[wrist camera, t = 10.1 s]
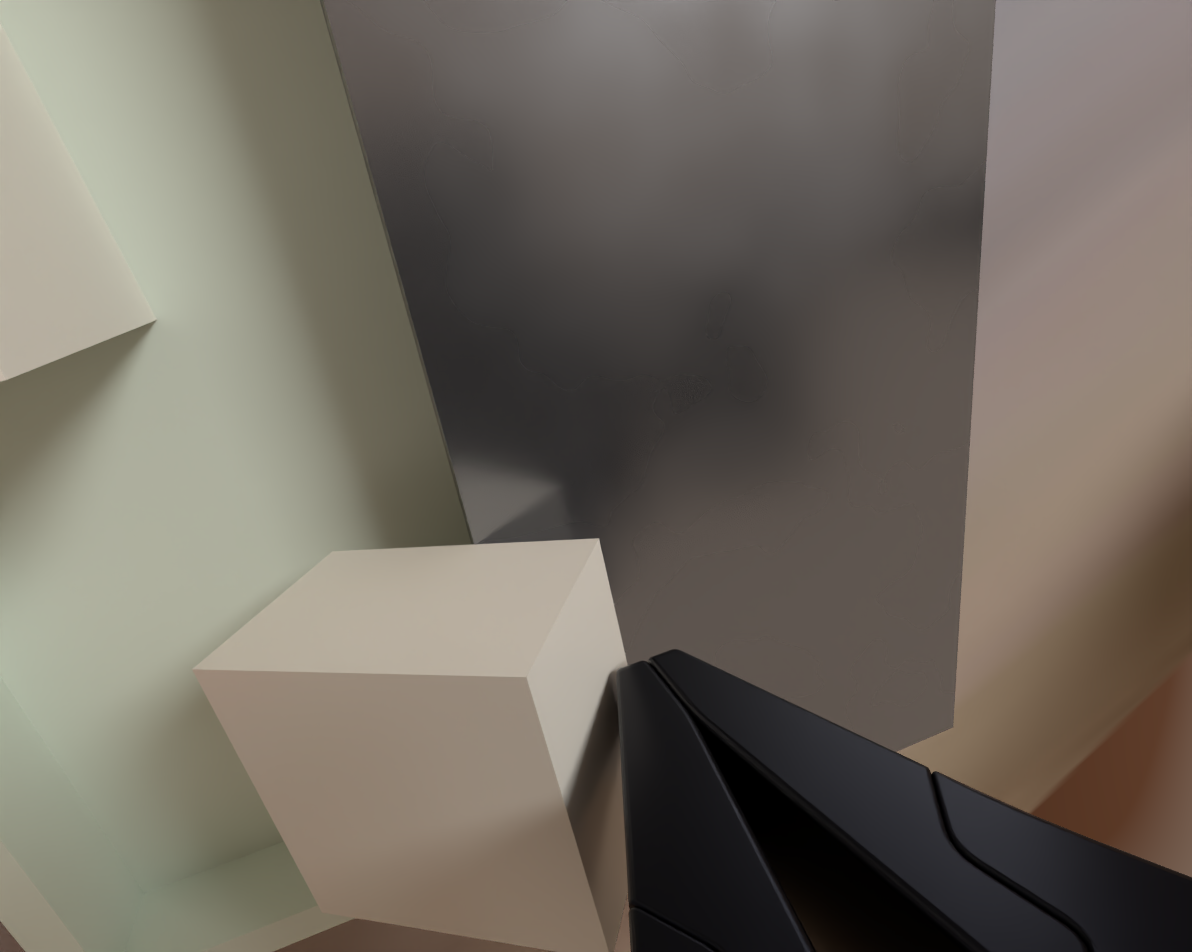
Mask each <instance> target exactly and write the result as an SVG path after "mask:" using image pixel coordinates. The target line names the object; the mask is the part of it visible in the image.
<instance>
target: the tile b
mask: <svg viewBox="0 0 1192 952" xmlns="http://www.w3.org/2000/svg"><path fill="white" fill-rule="evenodd" d="M625 666H627V660H626V656H625V651H624V647H623V642H622V638H621V634H620V629H619V625H618V620H617V616H616V612H615V607H614V603H613V598H612V594H611V590H610V585H609V581H608V576H607V572H606V568H605V563H604V559H603V554H602V550H601V546H600V541H599V538H595V539H575V540H554V541H534V542H513V543H493V544H476V545H474V544H473V545H452V546H432V547H411V548H391V549H370V550H350V551H332V552H331V553H330V554H329V555H327V556H326V557H325V558H324V559H323V560H322V561H320V562H319V563H318V564H317V565H316V566H314V567H313V568H312V569H311V570H310V571H308V572H307V573H306V574H305V575H304V576H302V577H301V578H300V579H299V580H298V581H297V582H295V583H294V584H293V585H292V586H291V587H289V588H288V589H287V590H286V591H285V592H283V593H282V594H281V595H280V596H279V597H277V598H276V599H275V600H274V601H273V602H271V603H270V604H269V605H268V606H267V607H266V608H264V609H263V610H262V611H261V612H260V613H258V614H257V615H256V616H255V617H254V618H252V619H251V620H250V621H249V622H248V623H246V624H245V625H244V626H243V627H242V628H241V629H239V630H238V631H237V632H236V633H235V634H233V635H232V636H231V637H230V638H229V639H227V640H226V641H225V642H224V643H223V644H221V645H220V646H219V647H218V648H217V649H216V650H214V651H213V652H212V653H211V654H210V655H208V656H207V657H206V658H205V659H204V660H202V661H201V662H200V663H199V664H198V665H196V666H195V667H194V668H193V669H192V670H193V672H194V674H195V676H196V678H197V680H198V682H199V684H200V685H201V687H202V689H203V691H204V693H205V695H206V697H207V699H208V700H209V702H210V704H211V706H212V708H213V710H214V712H215V714H216V715H217V717H218V719H219V721H220V723H221V725H222V727H223V728H224V730H225V732H226V734H227V736H228V738H229V740H230V742H231V743H232V745H233V747H234V749H235V751H236V753H237V755H238V757H239V758H240V760H241V762H242V764H243V766H244V768H245V770H246V771H247V773H248V775H249V777H250V779H251V781H252V783H253V785H254V786H255V788H256V790H257V792H258V794H259V796H260V798H261V800H262V801H263V803H264V805H265V807H266V809H267V811H268V813H269V814H270V816H271V818H272V820H273V822H274V824H275V826H276V828H277V829H278V831H279V833H280V835H281V837H282V839H283V841H284V843H285V844H286V846H287V848H288V850H289V852H290V854H291V856H292V857H293V859H294V861H295V863H296V865H297V867H298V869H299V871H300V872H301V874H302V876H303V878H304V880H305V882H306V884H307V886H308V887H309V889H310V891H311V893H312V895H313V897H314V899H315V900H316V902H317V904H318V906H319V908H320V910H321V912H322V913H328V914H334V915H340V916H346V917H352V918H358V919H364V920H370V921H376V922H382V923H387V924H393V925H399V926H405V927H411V928H417V929H423V930H429V931H435V932H441V933H447V934H453V935H459V936H465V937H471V938H477V939H483V940H489V941H495V942H501V943H507V944H513V945H519V946H525V947H530V948H536V949H542V950H548V951H554V952H614V949H615V945H616V941H617V936H618V932H619V927H620V923H621V919H622V914H623V910H624V906H625V901H626V897H627V893H628V883H627V865H626V847H625V829H624V811H623V793H622V775H621V756H620V738H619V720H618V702H617V684H616V672H617V670H618V669H619V668H622V667H625Z"/></svg>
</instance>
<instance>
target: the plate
mask: <svg viewBox="0 0 1192 952" xmlns="http://www.w3.org/2000/svg"><path fill="white" fill-rule="evenodd" d="M322 2H323V3H322ZM995 3H996V0H320V4H321V7H322V11H323V14H324V18H325V22H326V25H327V29H328V32H329V36H330V39H331V43H332V47H333V50H334V54H335V57H336V61H337V64H338V68H339V72H340V75H341V79H342V82H343V86H344V90H345V93H346V97H347V100H348V104H349V107H350V111H351V115H352V118H353V122H354V125H355V129H356V132H357V136H358V140H359V143H360V147H361V150H362V154H363V158H364V161H365V165H366V168H367V172H368V175H369V179H370V183H371V186H372V190H373V193H374V197H375V201H376V204H377V208H378V211H379V215H380V218H381V222H382V226H383V229H384V233H385V236H386V240H387V243H388V247H389V251H390V254H391V258H392V261H393V265H394V269H395V272H396V276H397V279H398V283H399V286H400V290H401V294H402V297H403V301H404V304H405V308H406V312H407V315H408V319H409V322H410V326H411V329H412V333H413V337H414V340H415V344H416V347H417V351H418V354H419V358H420V362H421V365H422V369H423V372H424V376H425V380H426V383H427V387H428V390H429V394H430V397H431V401H432V405H433V408H434V412H435V415H436V419H437V422H438V426H439V430H440V433H441V437H442V440H443V444H444V448H445V451H446V455H447V458H448V462H449V465H450V469H451V473H452V476H453V480H454V483H455V487H456V491H457V494H458V498H459V501H460V505H461V508H462V512H463V516H464V519H465V523H466V526H467V530H468V533H469V537H470V541H471V544H472V545H473V544H474V545H476V544H493V543H513V542H534V541H554V540H575V539H595V538H599V541H600V546H601V550H602V554H603V559H604V563H605V568H606V572H607V576H608V581H609V585H610V590H611V594H612V598H613V603H614V607H615V612H616V616H617V620H618V625H619V629H620V634H621V638H622V642H623V647H624V651H625V656H626V660H627V665H630V664H633V663H636V662H638V661H642V660H643V661H648V660H649V658H650V657H652V656H655V655H658V654H661V653H663V652H666V651H669V650H672V649H678V650H681V651H683V652H685V653H688V654H690V655H692V656H694V657H696V658H698V659H700V660H702V661H704V662H707V663H709V664H711V665H713V666H715V667H717V668H719V669H721V670H723V671H726V672H728V673H730V674H732V675H734V676H736V677H738V678H740V679H742V680H745V681H747V682H749V683H751V684H753V685H755V686H757V687H759V688H761V689H764V690H766V691H768V692H770V693H772V694H774V695H776V696H778V697H780V698H783V699H785V700H787V701H789V702H791V703H793V704H795V705H797V706H799V707H802V708H804V709H806V710H808V711H810V712H812V713H814V714H816V715H818V716H821V717H823V718H825V719H827V720H829V721H831V722H833V723H835V724H837V725H839V726H842V727H844V728H846V729H848V730H850V731H852V732H854V733H856V734H858V735H861V736H863V737H865V738H867V739H869V740H871V741H873V742H875V743H877V744H880V745H882V746H884V747H886V748H888V749H890V750H892V751H894V752H897V751H899V750H901V749H904V748H906V747H908V746H911V745H913V744H915V743H918V742H920V741H922V740H925V739H927V738H929V737H932V736H934V735H936V734H939V733H941V732H943V731H946V730H948V729H950V728H952V727H953V719H954V702H955V685H956V668H957V651H958V634H959V617H960V600H961V583H962V566H963V549H964V532H965V515H966V498H967V481H968V464H969V447H970V430H971V413H972V395H973V378H974V361H975V344H976V327H977V310H978V293H979V276H980V259H981V242H982V225H983V208H984V191H985V174H986V157H987V140H988V123H989V106H990V89H991V72H992V55H993V38H994V21H995ZM323 6H324V8H323ZM324 9H325V10H324ZM325 13H326V15H325ZM326 17H327V18H326ZM327 20H328V21H327ZM328 24H329V25H328ZM329 27H330V29H329ZM330 31H331V32H330ZM331 35H332V36H331ZM332 38H333V40H332ZM333 42H334V43H333ZM334 45H335V47H334ZM335 49H336V50H335ZM336 53H337V54H336ZM337 56H338V58H337ZM338 60H339V61H338ZM339 63H340V65H339ZM340 68H341V69H340ZM341 71H342V73H341ZM343 78H344V79H343ZM344 81H345V83H344ZM345 85H346V87H345ZM346 89H347V90H346ZM347 92H348V94H347ZM348 96H349V97H348ZM349 99H350V101H349ZM350 103H351V105H350ZM351 107H352V108H351ZM352 110H353V111H352ZM353 114H354V116H353ZM354 117H355V119H354ZM356 125H357V126H356ZM357 129H358V130H357ZM358 132H359V133H358ZM359 136H360V137H359ZM360 139H361V141H360ZM362 147H363V148H362ZM363 150H364V151H363ZM364 153H365V154H364ZM365 158H366V159H365ZM366 160H367V161H366ZM370 176H371V177H370ZM373 187H374V188H373ZM379 209H380V210H379ZM381 216H382V217H381ZM389 245H390V246H389Z"/></svg>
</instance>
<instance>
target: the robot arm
mask: <svg viewBox="0 0 1192 952" xmlns="http://www.w3.org/2000/svg"><path fill="white" fill-rule="evenodd" d="M616 684H617V702H618V720H619V738H620V756H621V775H622V793H623V811H624V829H625V847H626V865H627V883H628V902H629V908H630V911H629V928H630V946H631V952H1192V877H1189V876H1187V875H1184V874H1182V873H1179V872H1176V871H1174V870H1171V869H1169V868H1165V867H1163V866H1161V865H1158V864H1155V863H1153V862H1150V861H1148V860H1145V859H1142V858H1140V857H1137V856H1135V855H1132V854H1130V853H1127V852H1124V851H1122V850H1119V849H1117V848H1114V847H1111V846H1109V845H1106V844H1103V843H1101V842H1098V841H1096V840H1093V839H1091V838H1088V837H1086V836H1083V835H1081V834H1078V833H1076V832H1073V831H1071V830H1068V829H1066V828H1064V827H1061V826H1059V825H1056V824H1054V823H1051V822H1049V821H1046V820H1044V819H1041V818H1039V817H1036V816H1034V815H1031V814H1029V813H1027V812H1024V811H1022V810H1020V809H1018V808H1015V807H1013V806H1011V805H1009V804H1007V803H1004V802H1002V801H1000V800H998V799H995V798H993V797H991V796H989V795H986V794H984V793H982V792H980V791H978V790H975V789H973V788H971V787H969V786H967V785H965V784H962V783H960V782H958V781H956V780H954V779H952V778H950V777H948V776H946V775H943V774H941V773H939V772H936V771H935V772H933V773H932V774H931V772H930V770H929V768H928V767H926V766H924V765H922V764H920V763H918V762H915V761H913V760H911V759H909V758H907V757H905V756H903V755H901V754H899V753H896V752H894V751H892V750H890V749H888V748H886V747H884V746H882V745H880V744H877V743H875V742H873V741H871V740H869V739H867V738H865V737H863V736H861V735H858V734H856V733H854V732H852V731H850V730H848V729H846V728H844V727H842V726H839V725H837V724H835V723H833V722H831V721H829V720H827V719H825V718H823V717H821V716H818V715H816V714H814V713H812V712H810V711H808V710H806V709H804V708H802V707H799V706H797V705H795V704H793V703H791V702H789V701H787V700H785V699H783V698H780V697H778V696H776V695H774V694H772V693H770V692H768V691H766V690H764V689H761V688H759V687H757V686H755V685H753V684H751V683H749V682H747V681H745V680H742V679H740V678H738V677H736V676H734V675H732V674H730V673H728V672H726V671H723V670H721V669H719V668H717V667H715V666H713V665H711V664H709V663H707V662H704V661H702V660H700V659H698V658H696V657H694V656H692V655H690V654H688V653H685V652H683V651H681V650H678V649H672V650H669V651H666V652H663V653H661V654H658V655H655V656H652V657H650V658H649V660H648V661H643V660H642V661H638V662H636V663H633V664H630V665H627V666H625V667H622V668H619V669H618V670H617V672H616Z"/></svg>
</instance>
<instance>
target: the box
mask: <svg viewBox="0 0 1192 952" xmlns="http://www.w3.org/2000/svg"><path fill="white" fill-rule="evenodd" d="M322 3H323V2H322ZM323 8H324V6H323ZM324 10H325V9H324ZM325 15H326V13H325ZM326 18H327V17H326ZM327 21H328V20H327ZM0 23H1V25H2V27H3V29H4V30H5V32H6V34H7V36H8V38H9V40H10V42H11V44H12V46H13V48H14V49H15V51H16V53H17V55H18V57H19V59H20V61H21V63H22V65H23V67H24V68H25V70H26V72H27V74H28V76H29V78H30V80H31V82H32V84H33V86H34V87H35V89H36V91H37V93H38V95H39V97H40V99H41V101H42V103H43V105H44V106H45V108H46V110H47V112H48V114H49V116H50V118H51V120H52V122H53V124H54V125H55V127H56V129H57V131H58V133H59V135H60V137H61V139H62V141H63V143H64V144H65V146H66V148H67V150H68V152H69V154H70V156H71V158H72V160H73V162H74V163H75V165H76V167H77V169H78V171H79V173H80V175H81V177H82V179H83V181H84V182H85V184H86V186H87V188H88V190H89V192H90V194H91V196H92V198H93V200H94V201H95V203H96V205H97V207H98V209H99V211H100V213H101V215H102V217H103V219H104V220H105V222H106V224H107V226H108V228H109V230H110V232H111V234H112V236H113V238H114V239H115V241H116V243H117V245H118V247H119V249H120V251H121V253H122V255H123V256H124V258H125V260H126V262H127V264H128V266H129V268H130V270H131V272H132V274H133V275H134V277H135V279H136V281H137V283H138V285H139V287H140V289H141V291H142V293H143V294H144V296H145V298H146V300H147V302H148V304H149V306H150V308H151V310H152V312H153V313H154V315H155V317H156V319H157V320H155V321H153V322H150V323H148V324H145V325H143V326H140V327H138V328H135V329H133V330H130V331H128V332H125V333H123V334H120V335H118V336H115V337H113V338H110V339H108V340H105V341H103V342H100V343H98V344H95V345H93V346H90V347H88V348H85V349H83V350H80V351H78V352H75V353H73V354H70V355H68V356H65V357H63V358H60V359H58V360H55V361H53V362H50V363H48V364H45V365H43V366H40V367H38V368H35V369H33V370H30V371H28V372H25V373H23V374H20V375H18V376H15V377H13V378H10V379H8V380H5V381H1V382H0V921H1V922H2V924H3V925H4V926H5V927H6V929H7V930H8V931H9V932H10V934H11V935H12V936H13V937H14V938H15V940H16V941H17V942H18V943H19V945H20V946H21V947H22V948H23V950H24V951H25V952H274V951H276V950H278V949H281V948H283V947H286V946H288V945H291V944H293V943H296V942H298V941H301V940H303V939H305V938H308V937H310V936H313V935H315V934H318V933H320V932H323V931H325V930H328V929H330V928H332V927H335V926H337V925H340V924H342V923H345V922H347V921H350V920H352V919H355V918H352V917H346V916H340V915H334V914H328V913H322V912H321V910H320V908H319V906H318V904H317V902H316V900H315V899H314V897H313V895H312V893H311V891H310V889H309V887H308V886H307V884H306V882H305V880H304V878H303V876H302V874H301V872H300V871H299V869H298V867H297V865H296V863H295V861H294V859H293V857H292V856H291V854H290V852H289V850H288V848H287V846H286V844H285V843H284V841H283V839H282V837H281V835H280V833H279V831H278V829H277V828H276V826H275V824H274V822H273V820H272V818H271V816H270V814H269V813H268V811H267V809H266V807H265V805H264V803H263V801H262V800H261V798H260V796H259V794H258V792H257V790H256V788H255V786H254V785H253V783H252V781H251V779H250V777H249V775H248V773H247V771H246V770H245V768H244V766H243V764H242V762H241V760H240V758H239V757H238V755H237V753H236V751H235V749H234V747H233V745H232V743H231V742H230V740H229V738H228V736H227V734H226V732H225V730H224V728H223V727H222V725H221V723H220V721H219V719H218V717H217V715H216V714H215V712H214V710H213V708H212V706H211V704H210V702H209V700H208V699H207V697H206V695H205V693H204V691H203V689H202V687H201V685H200V684H199V682H198V680H197V678H196V676H195V674H194V672H193V670H192V669H193V668H194V667H195V666H196V665H198V664H199V663H200V662H201V661H202V660H204V659H205V658H206V657H207V656H208V655H210V654H211V653H212V652H213V651H214V650H216V649H217V648H218V647H219V646H220V645H221V644H223V643H224V642H225V641H226V640H227V639H229V638H230V637H231V636H232V635H233V634H235V633H236V632H237V631H238V630H239V629H241V628H242V627H243V626H244V625H245V624H246V623H248V622H249V621H250V620H251V619H252V618H254V617H255V616H256V615H257V614H258V613H260V612H261V611H262V610H263V609H264V608H266V607H267V606H268V605H269V604H270V603H271V602H273V601H274V600H275V599H276V598H277V597H279V596H280V595H281V594H282V593H283V592H285V591H286V590H287V589H288V588H289V587H291V586H292V585H293V584H294V583H295V582H297V581H298V580H299V579H300V578H301V577H302V576H304V575H305V574H306V573H307V572H308V571H310V570H311V569H312V568H313V567H314V566H316V565H317V564H318V563H319V562H320V561H322V560H323V559H324V558H325V557H326V556H327V555H329V554H330V553H331V552H332V551H350V550H370V549H391V548H411V547H432V546H452V545H472V544H471V541H470V537H469V533H468V530H467V526H466V523H465V519H464V516H463V512H462V508H461V505H460V501H459V498H458V494H457V491H456V487H455V483H454V480H453V476H452V473H451V469H450V465H449V462H448V458H447V455H446V451H445V448H444V444H443V440H442V437H441V433H440V430H439V426H438V422H437V419H436V415H435V412H434V408H433V405H432V401H431V397H430V394H429V390H428V387H427V383H426V380H425V376H424V372H423V369H422V365H421V362H420V358H419V354H418V351H417V347H416V344H415V340H414V337H413V333H412V329H411V326H410V322H409V319H408V315H407V312H406V308H405V304H404V301H403V297H402V294H401V290H400V286H399V283H398V279H397V276H396V272H395V269H394V265H393V261H392V258H391V254H390V251H389V247H388V243H387V240H386V236H385V233H384V229H383V226H382V222H381V218H380V215H379V211H378V208H377V204H376V201H375V197H374V193H373V190H372V186H371V183H370V179H369V175H368V172H367V168H366V165H365V161H364V158H363V154H362V150H361V147H360V143H359V140H358V136H357V132H356V129H355V125H354V122H353V118H352V115H351V111H350V107H349V104H348V100H347V97H346V93H345V90H344V86H343V82H342V79H341V75H340V72H339V68H338V64H337V61H336V57H335V54H334V50H333V47H332V43H331V39H330V36H329V32H328V29H327V25H326V22H325V18H324V14H323V11H322V7H321V4H320V0H0ZM328 25H329V24H328ZM329 29H330V27H329ZM330 32H331V31H330ZM331 36H332V35H331ZM332 40H333V38H332ZM333 43H334V42H333ZM334 47H335V45H334ZM335 50H336V49H335ZM336 54H337V53H336ZM337 58H338V56H337ZM338 61H339V60H338ZM339 65H340V63H339ZM340 69H341V68H340ZM341 73H342V71H341ZM343 79H344V78H343ZM344 83H345V81H344ZM345 87H346V85H345ZM346 90H347V89H346ZM347 94H348V92H347ZM348 97H349V96H348ZM349 101H350V99H349ZM350 105H351V103H350ZM351 108H352V107H351ZM352 111H353V110H352ZM353 116H354V114H353ZM354 119H355V117H354ZM356 126H357V125H356ZM357 130H358V129H357ZM358 133H359V132H358ZM359 137H360V136H359ZM360 141H361V139H360ZM362 148H363V147H362ZM363 151H364V150H363ZM364 154H365V153H364ZM365 159H366V158H365ZM366 161H367V160H366ZM370 177H371V176H370ZM373 188H374V187H373ZM379 210H380V209H379ZM381 217H382V216H381ZM389 246H390V245H389Z"/></svg>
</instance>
